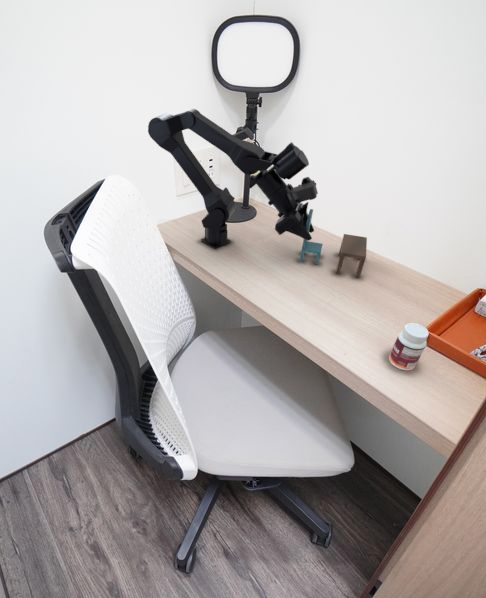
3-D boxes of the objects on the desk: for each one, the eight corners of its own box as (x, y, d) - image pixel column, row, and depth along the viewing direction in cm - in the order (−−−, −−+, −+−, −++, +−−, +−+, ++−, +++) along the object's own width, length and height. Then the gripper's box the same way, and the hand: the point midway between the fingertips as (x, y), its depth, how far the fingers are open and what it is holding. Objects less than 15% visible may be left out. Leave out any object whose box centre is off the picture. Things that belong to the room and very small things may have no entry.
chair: (299, 261, 100) (307, 215, 92) (302, 253, 104) (310, 208, 96) (317, 264, 99) (327, 218, 90) (319, 256, 102) (329, 211, 94)
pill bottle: (388, 350, 72) (402, 318, 67) (414, 356, 71) (430, 324, 66) (388, 367, 69) (402, 334, 64) (415, 374, 68) (432, 341, 62)
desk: (335, 273, 95) (341, 252, 91) (338, 254, 103) (343, 233, 99) (359, 278, 93) (366, 256, 89) (360, 258, 102) (366, 237, 98)
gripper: (295, 182, 81) (335, 234, 85) (306, 160, 95) (340, 205, 99) (258, 210, 88) (296, 257, 92) (274, 185, 102) (306, 227, 106)
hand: (311, 235), depth 97 cm, fingers closed on chair, 4 cm apart
